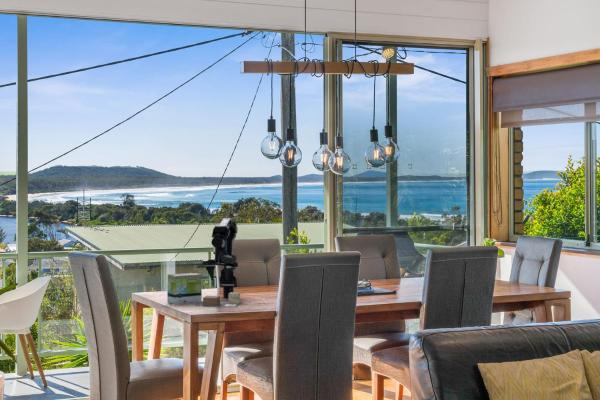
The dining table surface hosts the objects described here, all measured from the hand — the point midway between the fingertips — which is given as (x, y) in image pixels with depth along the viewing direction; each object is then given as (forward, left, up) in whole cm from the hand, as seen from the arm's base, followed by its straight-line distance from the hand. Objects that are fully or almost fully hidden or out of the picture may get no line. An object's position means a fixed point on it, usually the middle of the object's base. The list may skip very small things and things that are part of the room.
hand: (219, 281), depth 425 cm
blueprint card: (+3, +6, -12) cm, 14 cm away
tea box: (-8, -21, -13) cm, 26 cm away
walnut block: (+2, -4, -12) cm, 12 cm away
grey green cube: (-5, +6, -12) cm, 14 cm away
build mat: (-1, -1, -12) cm, 12 cm away
